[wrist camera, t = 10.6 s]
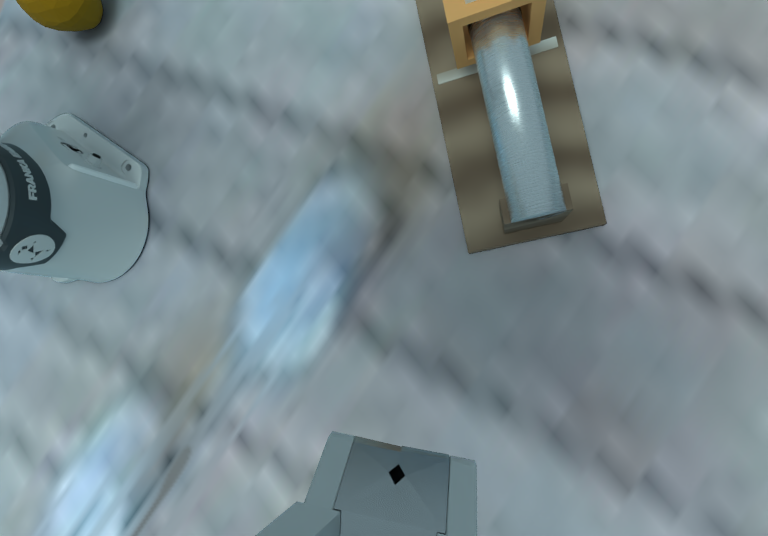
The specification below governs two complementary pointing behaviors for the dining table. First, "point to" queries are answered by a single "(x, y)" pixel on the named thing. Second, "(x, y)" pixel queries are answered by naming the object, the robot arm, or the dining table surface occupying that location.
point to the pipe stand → (476, 147)
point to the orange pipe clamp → (474, 3)
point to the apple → (64, 13)
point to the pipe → (516, 117)
